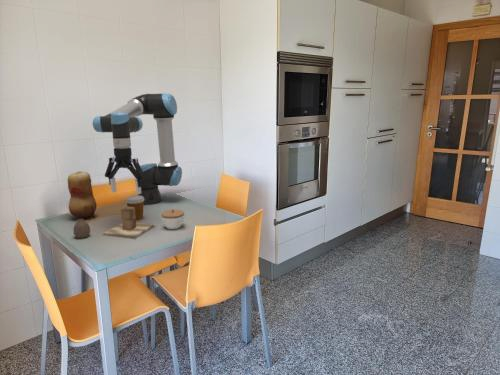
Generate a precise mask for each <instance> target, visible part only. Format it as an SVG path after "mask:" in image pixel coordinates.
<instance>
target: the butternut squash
mask: <svg viewBox="0 0 500 375" xmlns="http://www.w3.org/2000/svg"><path fill="white" fill-rule="evenodd" d="M67 188H68V192H69V195H70V199H69V202H68V212H69V213H70V214H71V215H72V216H73V217H75V218H78V219H87V218H88V217H90V216H93V215H94V214H95V212H96V210H97V207H98V206H97V201H96V199H95V196H94V193H93V186H92V178H91V175H90V173H88V171H83V170H80V171H76V172H75V171H74V172H72V173H70V174H69V175H68V177H67Z"/></svg>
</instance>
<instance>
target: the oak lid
mask: <svg viewBox="0 0 500 375" xmlns="http://www.w3.org/2000/svg"><path fill="white" fill-rule="evenodd" d="M120 213H121V214H120V215H121V222H122V223H120V224H118V225H116V226H115V227H112V228H110V229H109V230H107V231H104V233H105V235H113V236H121V237H129V238H135V237H137V236H139V235H140V234H142V233H144V232H145V231H147V230H149V229H150V228H152V227H154V226H155V225H154V224H151V223H143V222H137V221H136V217H135V207H127V206H126V207H124V208H121V209H120ZM154 228H155V227H154ZM149 231H150V230H149ZM144 234H145V233H144ZM121 237H120V238H121ZM129 238H128V239H129Z"/></svg>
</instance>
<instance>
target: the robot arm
mask: <svg viewBox="0 0 500 375" xmlns="http://www.w3.org/2000/svg"><path fill="white" fill-rule="evenodd" d="M177 113H178V105H177V101H176V98H175V96H174V95H172V93H171V94H170V93H165V92H163V93H145V94H140V95H137V96H135V97H133V98H131V99H130V100H128V101H127V103H126V104H124V105H122V106H121V107H119V108H117V109H114V110H113V111H111V112H109V113H108V114H106V115H104V116H102V115H99V116H98V115H97V116H95V117H94V118H93V119H92V127H93V130H94V131H95V132H97V133H112V143H113V147H114V148H113V155H114V156H112V157H109V158H108V165H107V167H106V171H105V173H104V178H108V184H109V186H110V190H111V191H110V192H111V193H112V194H113V193H116V192H117V184H116V177H115V175H116V174H117V172H118V171H119V169H122V168H123V169H127V170H129V172H130V173H131V174H132V175H133V176H134V178H135V179H136V180H135V192H136V196H137V195H138V196H143V197H144V199H145V200H144V205H154V204H155V205H156V204H158V203H160V202H161V203H162V201H163V198H162V195H161V192H160V190H159V186H166V187H167V186H168V187H172V186H173V187H174V186H175V187H176V186H178V185H179V184H180V183H181V180H182V176H183V169H182V167H181V166H179V164H178V162H177V161H176V158H175V156H176V155H175V145H174V144H175V142H174V133H173V120H174V119H175V115H176V114H177ZM141 115H150V116H151V115H152V116H153V119H154V120H155V121H156V130H157V140H158V150H159V152H158V153H159V159H160V160H159V162H158V164H157V163H153V162H151V163H146V164H141V165H140V163H139V158H137V157H136V158H135V157H134V158H132V155H133V154H132V152H133V151H132V144H131V143H132V142H131V134H132V133H136V132H139V131H141V130H142V128H143V125H144V124H143V120H142V119H141V118H140V117H139V116H141Z"/></svg>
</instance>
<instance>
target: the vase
mask: <svg viewBox="0 0 500 375" xmlns="http://www.w3.org/2000/svg"><path fill="white" fill-rule="evenodd" d="M72 230H73V235H74V236H75V238H76V239H81V240H82V239H86V238H88V237H89V236H90V234H91V227H90V225H89V223H88V222H87V221H86V220H85V218H78V219H77V220H76V223H75V224H74V226H73V229H72Z"/></svg>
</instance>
